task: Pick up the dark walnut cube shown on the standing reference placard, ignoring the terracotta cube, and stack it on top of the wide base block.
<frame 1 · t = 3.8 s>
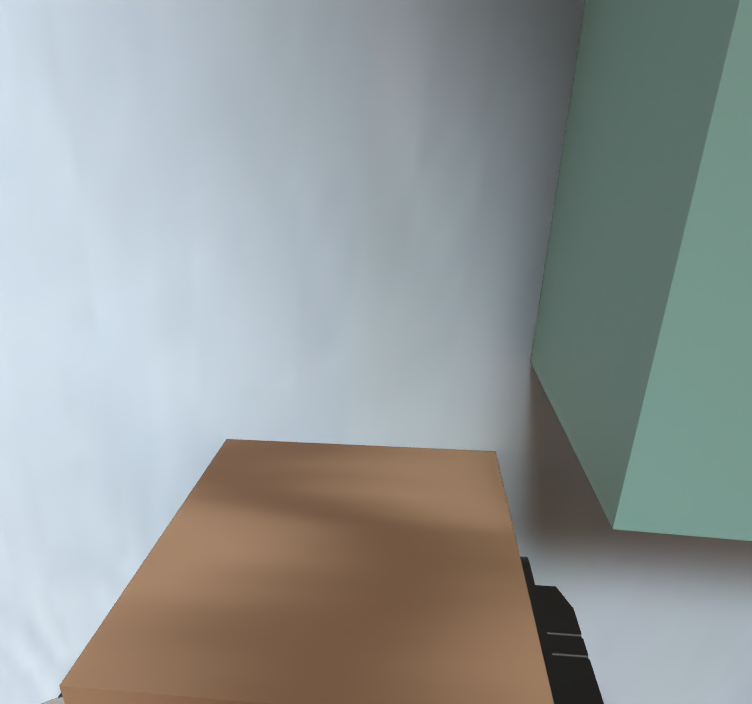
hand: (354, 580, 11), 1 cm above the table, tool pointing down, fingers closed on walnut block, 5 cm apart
walnut block: (359, 553, 12), on the table, touching gripper
when the fingers open (7 cm above the table, at t = 9.2 s): walnut block drops 2 cm, resting on base block.
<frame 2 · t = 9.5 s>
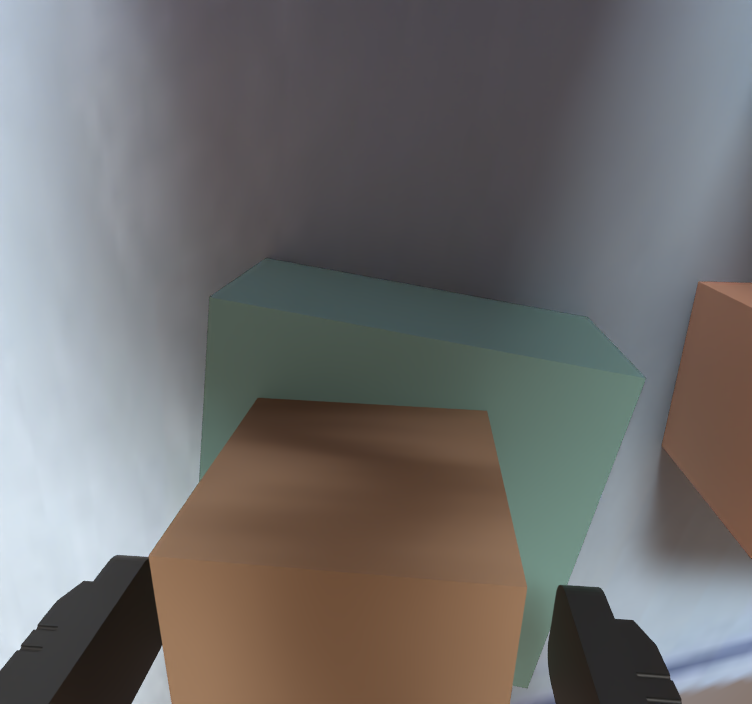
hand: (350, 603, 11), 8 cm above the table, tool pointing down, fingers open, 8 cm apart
walnut block: (368, 500, 14), point 5 cm above the table, touching base block
base block: (397, 424, 19), on the table, touching walnut block
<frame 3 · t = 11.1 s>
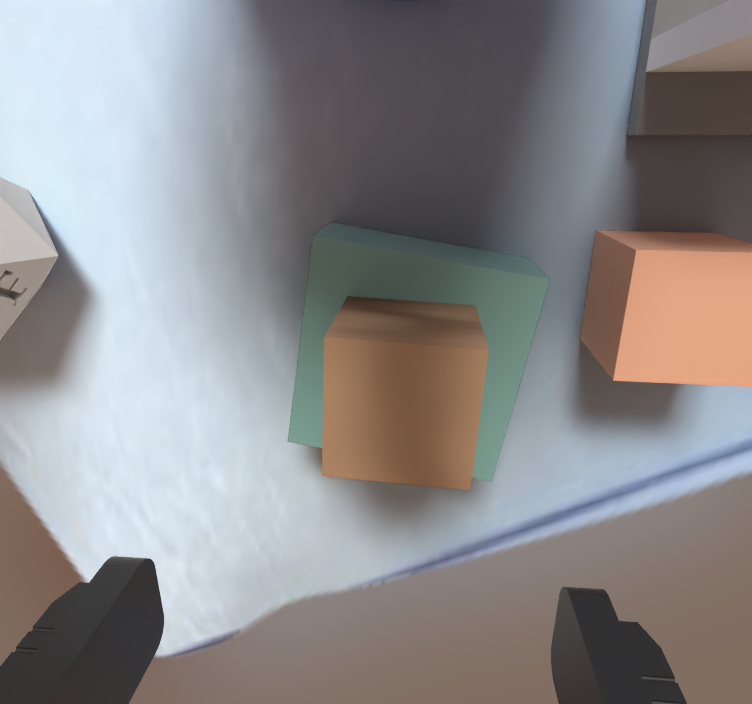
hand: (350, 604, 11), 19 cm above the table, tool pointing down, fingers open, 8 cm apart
walnut block: (406, 360, 24), point 5 cm above the table, touching base block
base block: (411, 332, 29), on the table, touching walnut block
die: (11, 236, 29), on the table
terracotta block: (644, 287, 27), on the table
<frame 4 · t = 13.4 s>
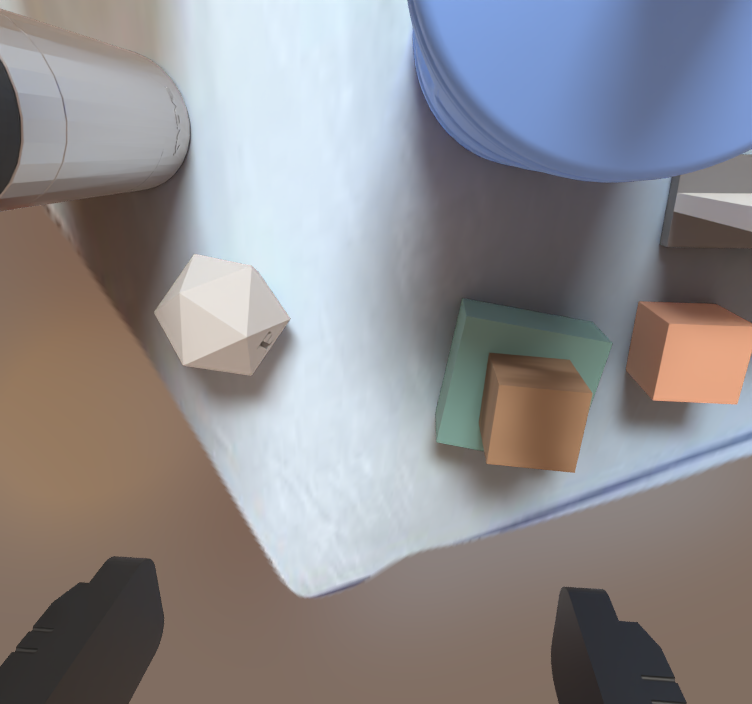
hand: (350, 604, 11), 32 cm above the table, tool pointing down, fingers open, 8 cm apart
walnut block: (522, 392, 38), point 5 cm above the table, touching base block
base block: (509, 368, 43), on the table, touching walnut block
die: (240, 300, 43), on the table
water jug: (535, 38, 35), on the table
terracotta block: (669, 337, 41), on the table
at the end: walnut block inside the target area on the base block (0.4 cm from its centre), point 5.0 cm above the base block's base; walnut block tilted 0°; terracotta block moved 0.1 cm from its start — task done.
